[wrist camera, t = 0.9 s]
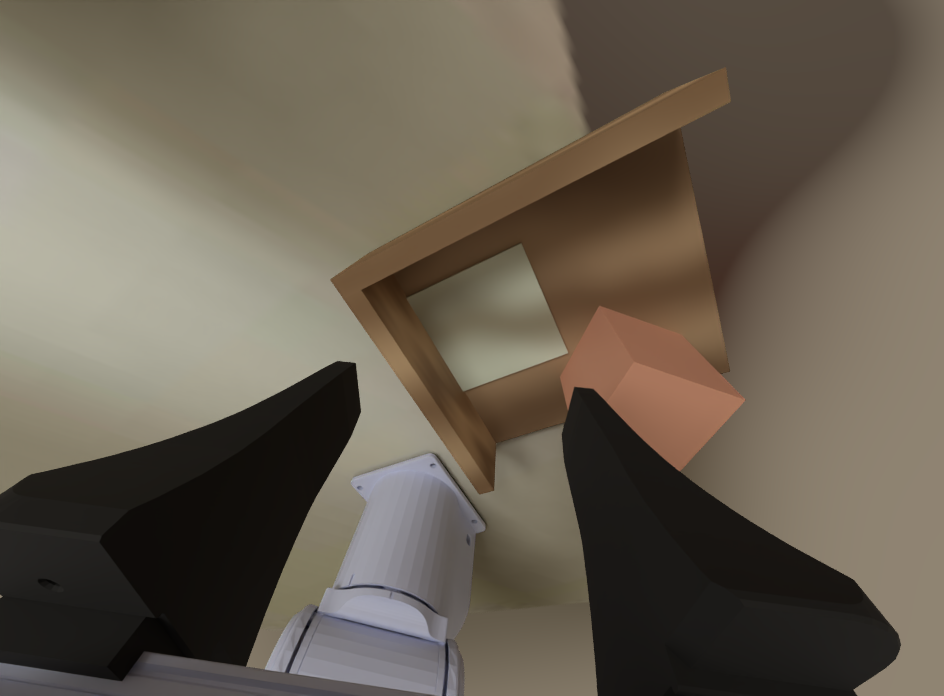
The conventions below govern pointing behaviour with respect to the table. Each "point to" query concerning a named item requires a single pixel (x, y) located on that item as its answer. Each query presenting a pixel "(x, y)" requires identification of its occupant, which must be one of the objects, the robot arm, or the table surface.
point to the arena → (543, 277)
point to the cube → (652, 383)
